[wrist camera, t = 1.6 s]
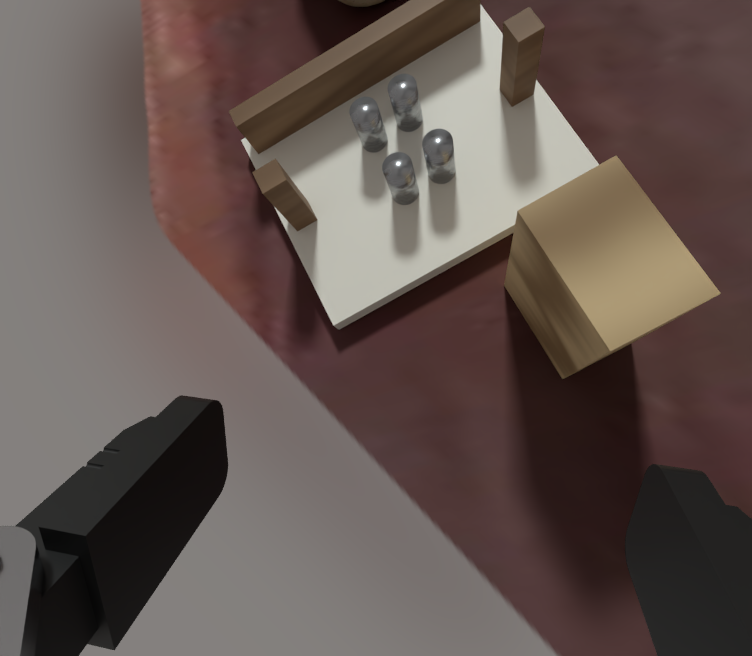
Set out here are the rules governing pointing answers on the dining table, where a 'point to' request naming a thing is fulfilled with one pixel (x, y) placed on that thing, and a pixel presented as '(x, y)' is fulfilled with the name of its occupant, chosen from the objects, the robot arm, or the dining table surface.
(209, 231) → the dining table surface
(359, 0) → the ceramic mug
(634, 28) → the dining table surface
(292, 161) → the peg stand
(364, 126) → the pegs
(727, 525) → the robot arm
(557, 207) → the oak block
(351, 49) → the walnut frame
